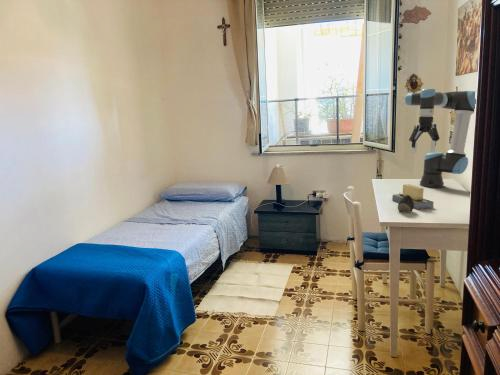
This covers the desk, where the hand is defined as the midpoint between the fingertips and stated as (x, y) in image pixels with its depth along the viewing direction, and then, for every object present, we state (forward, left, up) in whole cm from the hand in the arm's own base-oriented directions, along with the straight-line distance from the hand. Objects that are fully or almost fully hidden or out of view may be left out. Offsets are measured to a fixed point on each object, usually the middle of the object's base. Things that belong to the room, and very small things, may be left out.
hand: (423, 152), depth 228 cm
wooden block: (+12, +7, -27) cm, 31 cm away
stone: (+26, +18, -29) cm, 43 cm away
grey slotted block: (+12, +7, -29) cm, 32 cm away
